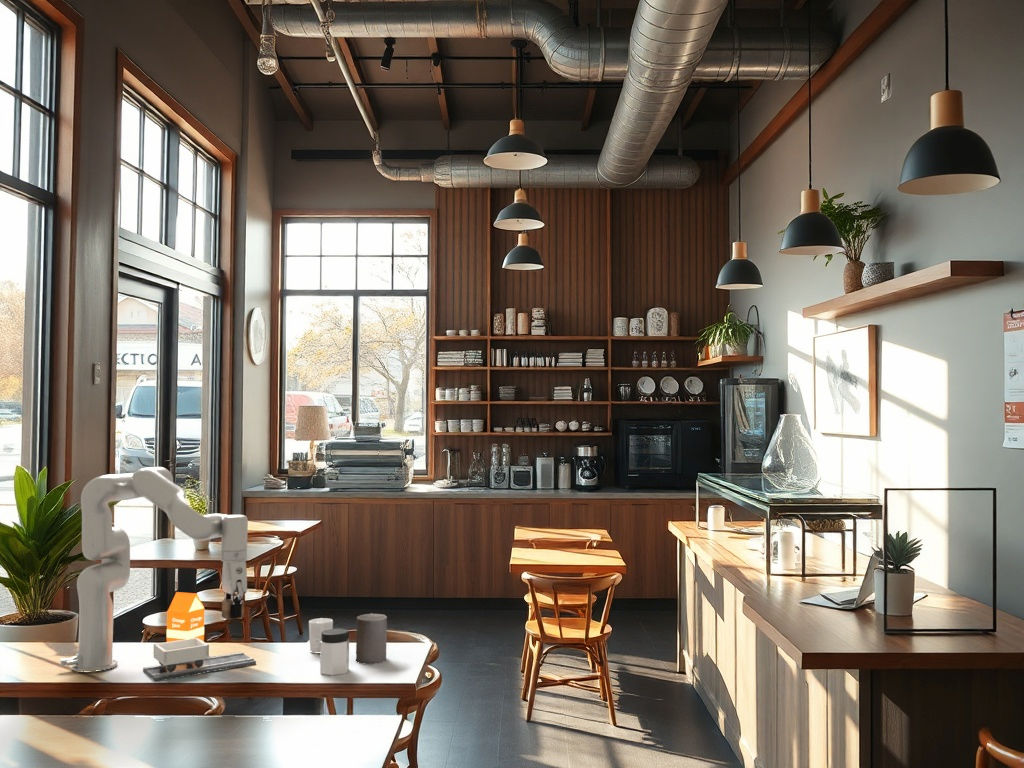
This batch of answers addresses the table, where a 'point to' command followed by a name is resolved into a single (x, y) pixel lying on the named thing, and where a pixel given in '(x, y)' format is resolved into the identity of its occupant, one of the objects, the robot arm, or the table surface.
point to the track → (208, 665)
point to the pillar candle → (371, 638)
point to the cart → (181, 652)
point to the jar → (334, 652)
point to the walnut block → (226, 609)
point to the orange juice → (185, 617)
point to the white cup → (318, 632)
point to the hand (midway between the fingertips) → (232, 615)
